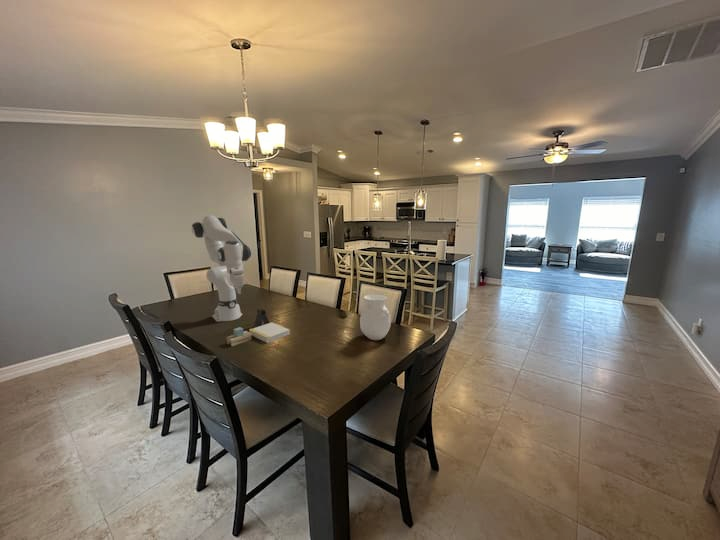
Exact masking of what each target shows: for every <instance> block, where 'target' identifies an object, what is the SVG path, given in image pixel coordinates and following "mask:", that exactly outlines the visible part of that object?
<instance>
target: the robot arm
mask: <svg viewBox="0 0 720 540" xmlns="http://www.w3.org/2000/svg"><path fill="white" fill-rule="evenodd" d="M191 232H192V234H193V235H194V237H196V238H200V239H201V238H204V244H205V247H206V250H207V251H206V252H207V253H208V256H209V259H210V260H211V261H212V262H214V263H216V264H218V266H214V267H212V268H209V269H208V270H207V272H206V273H205V274H206V275H205V276H206V279H207V280H208V282H210V283H211V284H213V285H214V286H215V287H216V290H217V293H218V305H217V306H216V308H215V309H214V311H213V312H214V314H212V315H211V317H212V318H213V319H214V320H215V322H217V323H218V322H231V321H232V322H233V321H235V320H237V319H240V318H241V316H242V315H243V313H242V312H241V308H240V304H238V299H237V294H238V295H240V294H242V288H243V287H244V273H245V271H244V264H243V262H247V261H249V259H250V258H251V257H252V251H251V248H250V246H248V245H247V244H245V243H244V242H243V241H242V240H241V239H240V238H239V236H238V235H237V234H235V232H233V231H231V230H230V229H228V223H227V221H226V219H225V218H223V217H216V216H215V215H211V214H209V215H205V216H203V219H202V220H201V221H196V222H194V223H192V224H191ZM229 281H230V283H231V284H232V285H231V284H229ZM236 293H237V294H236Z"/></svg>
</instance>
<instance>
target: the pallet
mask: <svg viewBox="0 0 720 540" xmlns="http://www.w3.org/2000/svg"><path fill="white" fill-rule="evenodd" d="M252 337H253V336H252V335H251V333H249V331H248V330H244V335H243V336H240V337H236V336H234V334H233V335H230V336H227V337H226V344H227V345H230V347H234V346H238V345H240V344H243V343H245V342H248V341H251V340H252Z"/></svg>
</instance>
